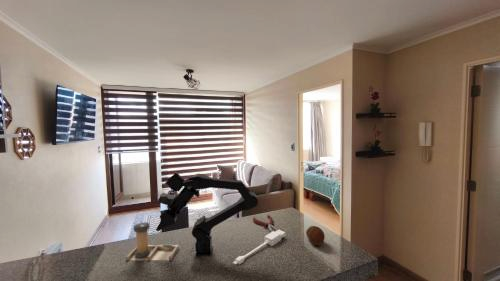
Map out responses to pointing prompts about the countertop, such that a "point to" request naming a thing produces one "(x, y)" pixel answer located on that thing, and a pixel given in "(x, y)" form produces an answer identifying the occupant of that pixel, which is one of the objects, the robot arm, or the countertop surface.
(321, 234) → the potato
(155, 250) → the divided tray
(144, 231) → the bobbin
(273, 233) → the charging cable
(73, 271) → the countertop surface
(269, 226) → the pliers
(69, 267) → the countertop surface
